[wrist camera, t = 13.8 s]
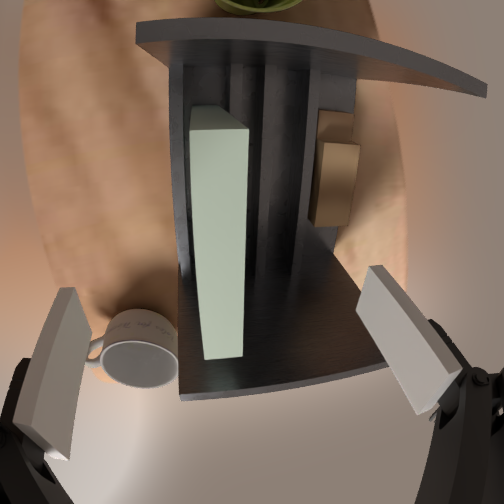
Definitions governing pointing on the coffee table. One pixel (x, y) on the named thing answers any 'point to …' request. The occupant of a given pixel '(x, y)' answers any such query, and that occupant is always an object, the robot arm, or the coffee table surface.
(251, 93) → the rack
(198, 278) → the sage panel
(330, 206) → the offcut upper
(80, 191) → the coffee table surface
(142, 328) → the teacup
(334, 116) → the offcut lower
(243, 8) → the plant pot
